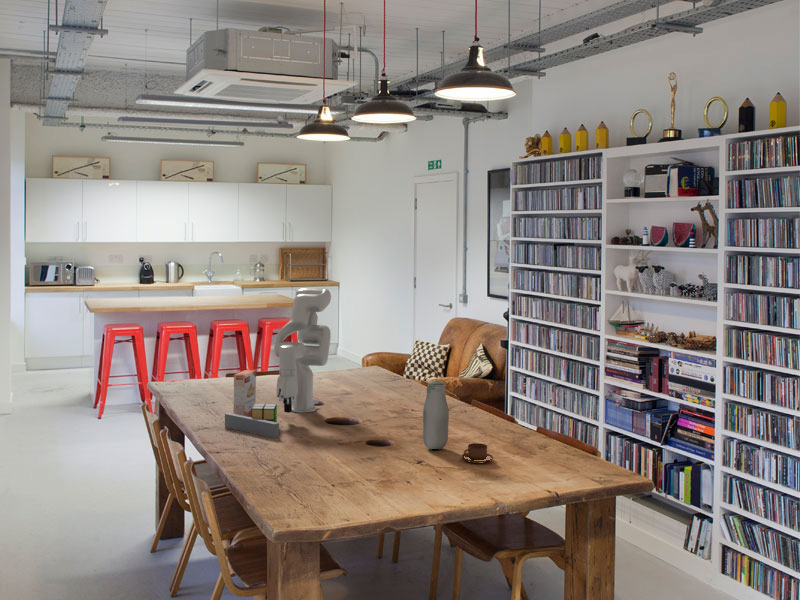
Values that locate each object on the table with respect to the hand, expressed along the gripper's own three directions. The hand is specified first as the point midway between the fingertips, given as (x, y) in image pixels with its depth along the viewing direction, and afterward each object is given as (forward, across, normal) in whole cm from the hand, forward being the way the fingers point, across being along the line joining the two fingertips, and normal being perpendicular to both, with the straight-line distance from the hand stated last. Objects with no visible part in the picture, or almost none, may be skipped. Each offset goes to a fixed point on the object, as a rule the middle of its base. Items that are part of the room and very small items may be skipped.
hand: (287, 411), depth 375 cm
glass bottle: (+4, -3, +77) cm, 78 cm away
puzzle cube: (+4, +16, 0) cm, 16 cm away
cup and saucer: (+4, 0, +99) cm, 99 cm away
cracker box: (+5, +5, -23) cm, 24 cm away
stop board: (+4, +24, 0) cm, 24 cm away
